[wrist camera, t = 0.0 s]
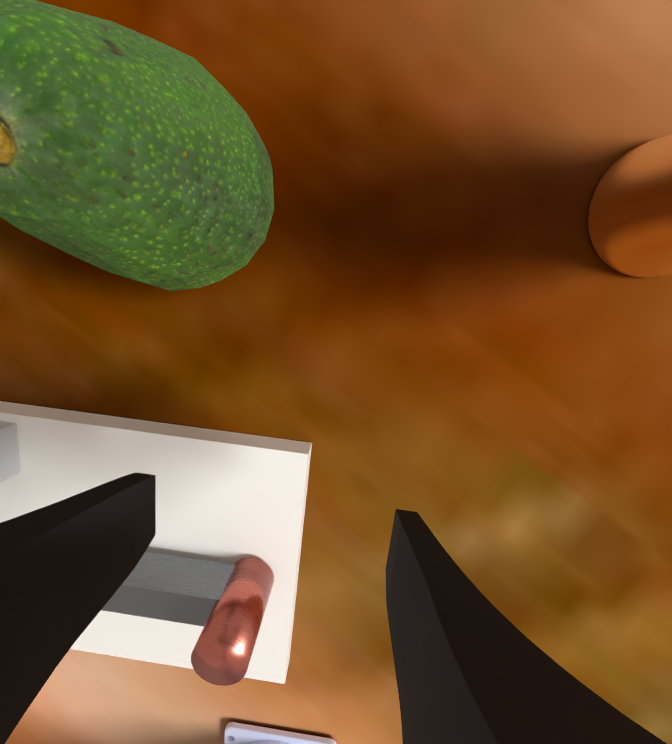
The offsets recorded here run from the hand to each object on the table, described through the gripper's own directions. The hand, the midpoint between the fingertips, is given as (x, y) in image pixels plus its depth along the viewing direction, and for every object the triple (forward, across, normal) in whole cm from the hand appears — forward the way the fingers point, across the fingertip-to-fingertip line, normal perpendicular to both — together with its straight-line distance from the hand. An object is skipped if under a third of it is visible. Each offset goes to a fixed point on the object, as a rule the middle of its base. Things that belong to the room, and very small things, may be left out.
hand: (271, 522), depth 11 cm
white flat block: (+10, +11, +10) cm, 18 cm away
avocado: (+10, +6, -10) cm, 16 cm away
